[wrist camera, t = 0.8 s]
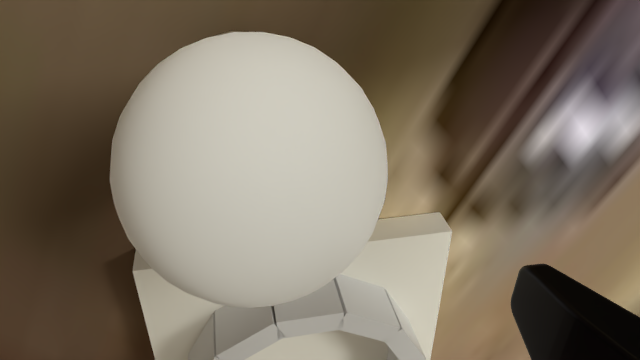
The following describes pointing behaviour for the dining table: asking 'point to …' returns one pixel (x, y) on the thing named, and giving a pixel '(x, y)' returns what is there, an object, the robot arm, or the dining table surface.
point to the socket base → (317, 307)
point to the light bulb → (248, 169)
